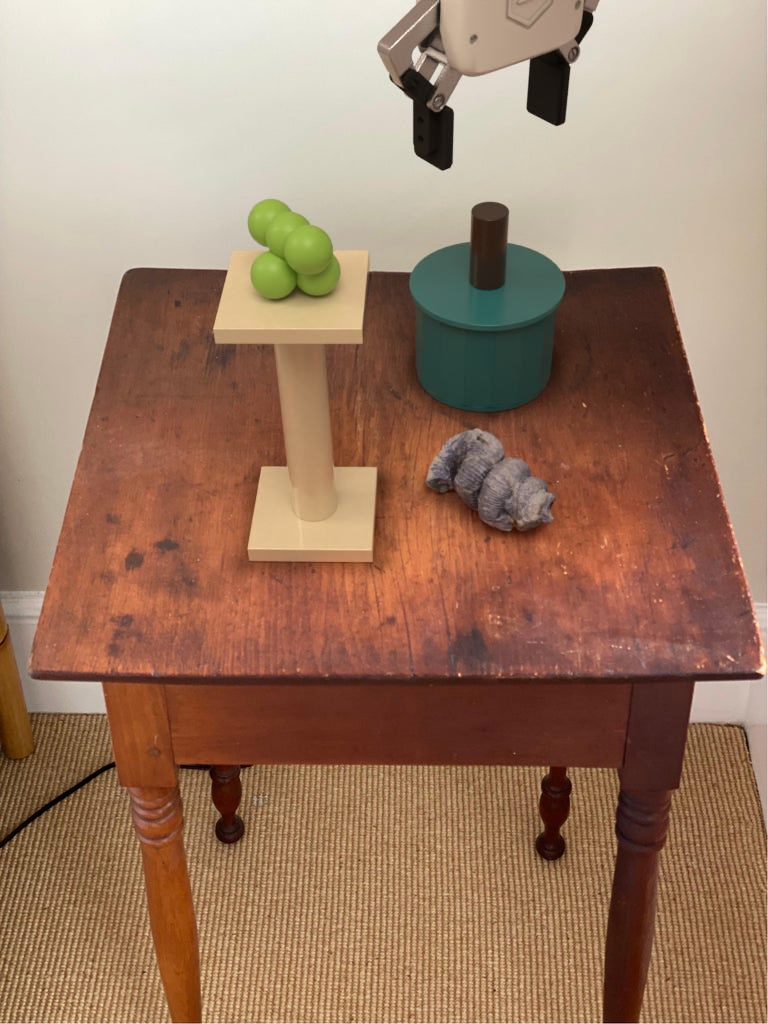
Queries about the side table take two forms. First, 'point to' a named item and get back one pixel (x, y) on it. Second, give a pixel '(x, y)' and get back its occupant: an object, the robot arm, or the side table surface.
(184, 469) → the side table surface
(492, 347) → the pot
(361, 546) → the pedestal
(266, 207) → the grapes
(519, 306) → the lid
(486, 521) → the seashell
